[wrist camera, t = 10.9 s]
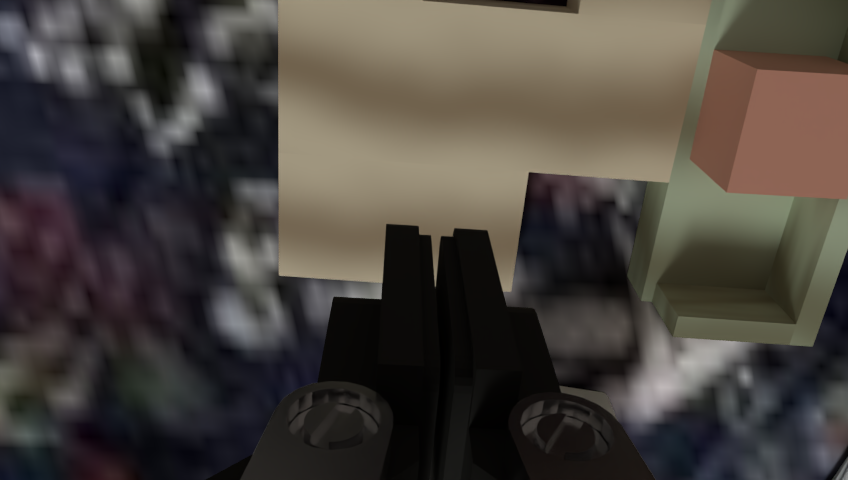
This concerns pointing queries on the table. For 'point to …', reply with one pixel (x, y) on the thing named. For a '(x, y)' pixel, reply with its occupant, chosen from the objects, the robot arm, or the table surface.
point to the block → (775, 125)
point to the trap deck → (548, 143)
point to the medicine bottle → (591, 397)
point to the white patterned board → (842, 472)
